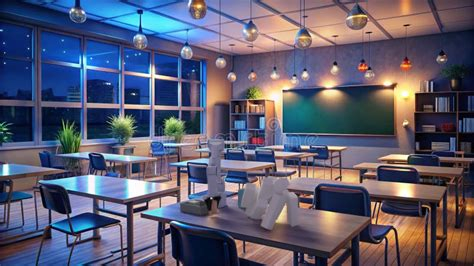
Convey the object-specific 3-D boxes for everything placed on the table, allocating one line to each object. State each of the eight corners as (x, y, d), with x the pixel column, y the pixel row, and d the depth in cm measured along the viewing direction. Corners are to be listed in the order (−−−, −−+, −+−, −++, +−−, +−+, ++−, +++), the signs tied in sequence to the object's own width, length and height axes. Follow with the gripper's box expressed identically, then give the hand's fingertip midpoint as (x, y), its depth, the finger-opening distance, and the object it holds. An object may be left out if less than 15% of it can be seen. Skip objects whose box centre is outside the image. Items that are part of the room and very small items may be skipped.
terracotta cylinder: (212, 211, 218) (212, 199, 218) (218, 212, 215) (218, 200, 215) (206, 213, 214) (206, 201, 214) (212, 214, 211) (212, 202, 211)
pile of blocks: (225, 232, 203) (226, 180, 185) (251, 201, 225) (255, 153, 208) (283, 259, 188) (291, 207, 170) (305, 224, 210) (314, 174, 193)
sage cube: (194, 208, 233) (194, 200, 233) (199, 209, 230) (199, 201, 230) (188, 209, 229) (188, 201, 229) (194, 211, 226) (193, 202, 226)
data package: (256, 209, 233) (256, 190, 233) (252, 210, 230) (252, 191, 229) (242, 206, 241) (242, 187, 240) (237, 207, 237) (237, 188, 237)
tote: (196, 207, 238) (196, 199, 238) (216, 211, 227) (216, 203, 227) (180, 211, 227) (180, 203, 227) (200, 215, 216) (200, 207, 216)
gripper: (209, 188, 206) (209, 213, 206) (226, 185, 217) (226, 208, 218) (199, 187, 210) (200, 211, 211) (217, 183, 221) (217, 206, 222)
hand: (212, 209), depth 214 cm, fingers closed on terracotta cylinder, 5 cm apart
